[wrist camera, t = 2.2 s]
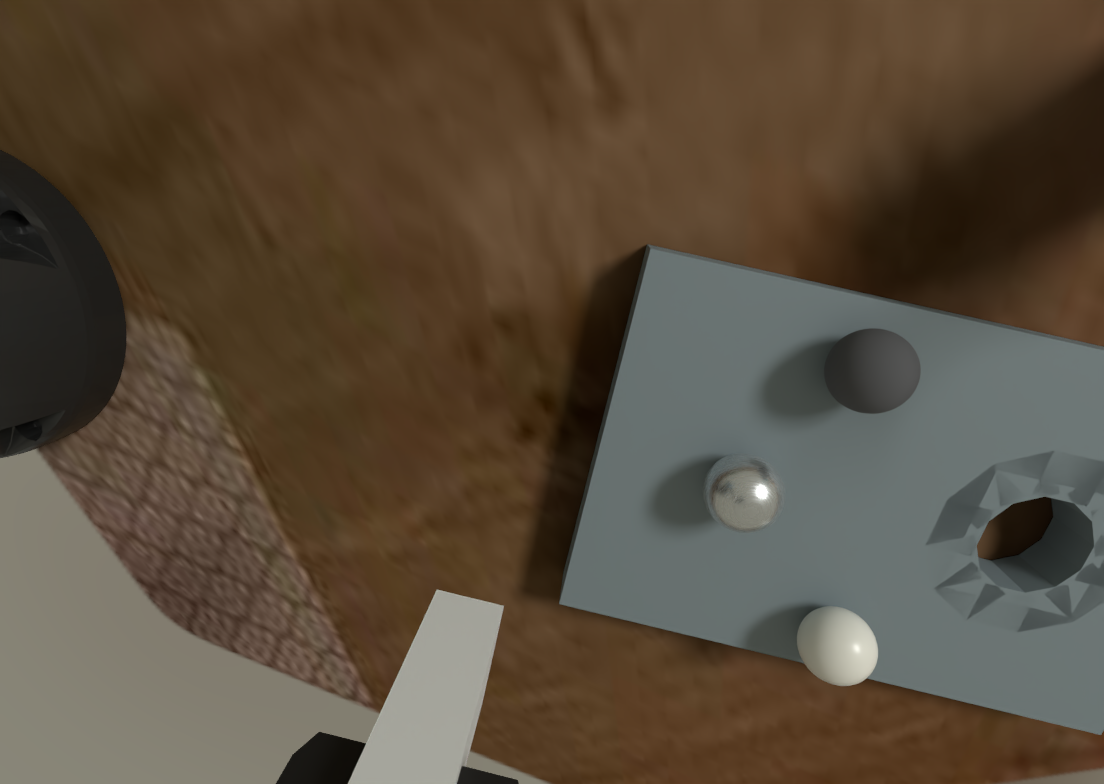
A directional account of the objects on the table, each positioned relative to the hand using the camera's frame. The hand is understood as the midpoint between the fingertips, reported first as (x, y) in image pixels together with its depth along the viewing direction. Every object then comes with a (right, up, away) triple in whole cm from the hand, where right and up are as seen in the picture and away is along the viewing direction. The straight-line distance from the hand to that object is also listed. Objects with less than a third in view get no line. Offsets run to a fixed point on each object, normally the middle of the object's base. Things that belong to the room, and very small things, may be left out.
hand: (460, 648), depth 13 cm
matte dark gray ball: (+14, +6, +9) cm, 18 cm away
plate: (+17, +1, +15) cm, 23 cm away
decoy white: (+14, -5, +13) cm, 20 cm away
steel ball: (+10, +2, +11) cm, 15 cm away
